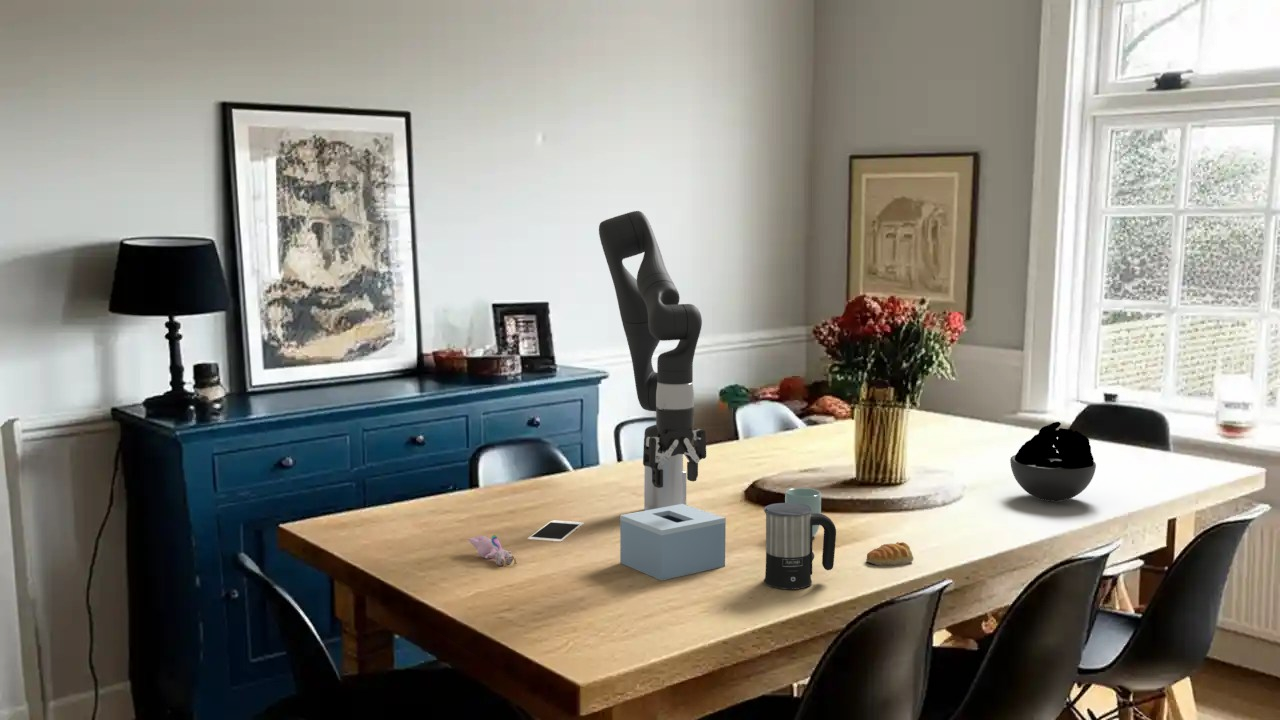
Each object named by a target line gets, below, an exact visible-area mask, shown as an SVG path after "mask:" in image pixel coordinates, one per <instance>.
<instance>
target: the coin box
mask: <svg viewBox="0 0 1280 720" xmlns="http://www.w3.org/2000/svg"><path fill="white" fill-rule="evenodd" d="M726 521H727V520H726V517H724V516H720V515H718V514H715V513H713V512H709V511H706V510H703V509H699V508H697V507H694V506H691V505H689V504H688V505H687V504H686V505H685V504H679V505H673V506H668V507H662V508H657V509H651V510H646V511H644V510H640V511H636V512H631V513H625V514H620V520H619V523H620V527H619V529H620V531H619V532H620V533H619V534H620V536H619V537H620V540H619V542H620V544H619V547H620V551H619V552H620V562H619V563H620V564H622V565H624V566H625V567H626V566H627V567H629V568H632V569H633V570H636V571H638V572H641V573H643V574H646V575H648V576H650V577H652V578H655V579H657V580H659V581H666V580H669V579H674V578H678V577H679V578H680V577H682V576H687V575H691V574H692V575H693V574H696V573H702V572H705V571H706V572H707V571H710V570H714V569H718V568H722V567H723V568H724V567H725V566H726V523H727V522H726Z"/></svg>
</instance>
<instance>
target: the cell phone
mask: <svg viewBox="0 0 1280 720" xmlns="http://www.w3.org/2000/svg"><path fill="white" fill-rule="evenodd" d="M583 525H584V522H580V521H572V520H571V521H570V520H569V521H568V520H555V519H553V520H551V521H549V522H548V523H546V524H545V525H544V526H542V527H541V528H540V529H538V530H536V531H535V532H534V533H533V534H531V535H530V536H528V537H527V540H528V539H529V540H530V541H539V540H543V541H542V542H551V541H553V542H554V543H561V541H562V542H563V541H564V540H565V539H567V538H568V537H569V536H570V535H572V534H573V533H575V531H577V530H578V529H580V526H581V527H582V526H583ZM576 529H577V530H576ZM553 542H552V543H553Z"/></svg>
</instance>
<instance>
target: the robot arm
mask: <svg viewBox="0 0 1280 720" xmlns="http://www.w3.org/2000/svg"><path fill="white" fill-rule="evenodd" d="M598 235H599V238H600V239H599V241H600V244H601V246H602V247H601V248H602V250H603V254H604V257H605V260H606V263H607V266H608V270H609V273H610V276H611V279H612V282H613V287H614V290H615V295H616V299H617V300H616V301H617V305H618V310H619V315H620V319H621V322H622V323H621V324H622V327H623V330H624V335H625V336H626V342H627V344H628V345H627V346H628V350H629V353H630V357H631V358H630V359H631V364H632V369H633V375H634V383H635V390H636V396H637V401H638V402H639V403H638V404H639V405H640V407H641V408H642V409H643V410H645V411H649V412H656V413H655V420H656V422H655V423H656V424H653V425H651V426H650V425H649V426H648V427H646V428H645V429H644V435H643V436H644V438H643V455H642V457H643V458H642V465H643V466H644V475H643V476H644V478H643V479H644V482H643V484H644V485H643V486H644V487H643V488H644V490H643V491H644V493H643V495H644V496H643V499H644V503H643V504H644V507H643V509H644V510H643V511H646V510H651V509H657V508H662V507H668V506H673V505H679V504H685V505H687V480H688V481H690V482H695V481H697V478H698V476H699V462H700V461H702V460H704V459H706V458H707V440H706V438H707V437H706V431H705V430H704V429H700V428H697V427H696V428H694V427H695V426H694V425H695V417H694V416H695V392H694V385H693V381H694V380H693V375H694V374H693V369H694V368H693V367H694V366H693V365H694V364H693V363H694V358H695V352H696V349H697V345H698V341H699V338H700V334H701V330H702V325H703V319H702V315H701V312H700V310H699V308H698V307H697V306H695V305H694V304H691V303H685V304H684V303H681V304H680V293H679V291H678V289H677V287H676V285H675V283H674V282H673V280H672V278H671V276H670V274H669V272H668V270H667V268H666V266H665V262H664V259H663V256H662V252H661V250H660V246H659V245H658V242H657V239H656V236H655V233H654V230H653V228H652V225H651V224H650V221H649V219H648V217H647V216H646V215H645V213H644V212H642V211H640V210H636V211H635V210H633V211H629V212H627V213H623V214H620V215H617V216H614V217H611V218H607V219H605V220H603V221H601V222H600V223H599V225H598ZM643 253H644V254H643ZM640 254H643V257H642V260H641V262H640V265H639V269H638V271H637V274H636V278H635V277H634V275H632V274H631V273H630V272H629V271H628V269H627V268H626V267H625V265H624V263H623V260H625V259H627V258H632V257H634V256H637V255H640ZM660 341H678V343H677V345H676V346H675V348H674V349H672V350H668V351H665V352H662V353H660V354H659V355H658V356H657V361H656V363H657V364H656V365H657V366H656V368H657V369H656V370H657V371H655V370H654V368H653V361H652V359H653V356H654V352H655V351H656V349H657V347H658V345H659V343H660ZM692 441H693V445H692ZM684 457H685V458H686V460H687V463H686V470H684Z"/></svg>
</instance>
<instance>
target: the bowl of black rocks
mask: <svg viewBox="0 0 1280 720" xmlns="http://www.w3.org/2000/svg"><path fill="white" fill-rule="evenodd" d="M1061 424H1062V423H1061V422H1060V421H1056V422H1052V423H1049V424H1047V425H1045V426H1042V427H1041V428H1040V429H1039V430H1038V434H1035V435H1033V437H1032V438H1031V439H1029V440H1027V441H1026V442H1025V443H1024V444H1022V445H1021V447H1020V448H1019V449H1018V451H1017V453H1016V454H1015V455H1012V456H1011V457H1010V459H1009V462H1010V468H1011V472H1012V474H1013V477H1014V479H1015V480H1016V482H1017V484H1018V485H1019V486H1020V487H1021V488H1022V489H1023V490H1024V492H1026V493H1027V494H1029V495H1031V496H1032V497H1035V498H1036V499H1039V500H1042V501H1046V502H1063V501H1064V502H1065V501H1066V500H1071V499H1072V498H1074V497H1076V496H1078V495H1080V494H1081V493H1082V492H1083V491H1084V490H1086V489H1087V488H1088V486H1089V485H1090V483H1091V482H1092V480H1093V478H1094V475H1095V472H1096V468H1097V463H1096V462H1095V461H1094V459H1095V458H1094V456H1093V453H1092V447H1091V444H1090V439H1089V438H1088V437H1087V436H1086V435H1084V434H1083V433H1081V432H1079V431H1078V430H1073V429H1070V428H1063V427H1060V426H1061Z"/></svg>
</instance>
